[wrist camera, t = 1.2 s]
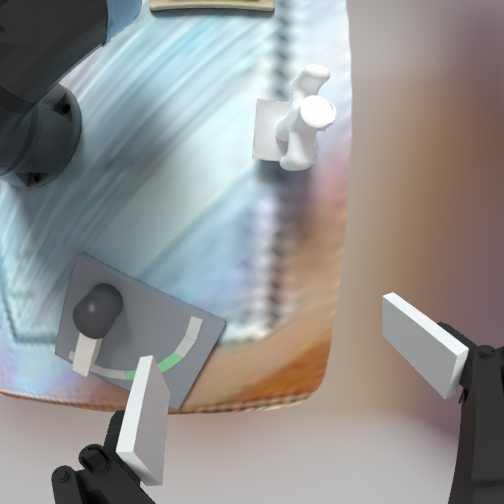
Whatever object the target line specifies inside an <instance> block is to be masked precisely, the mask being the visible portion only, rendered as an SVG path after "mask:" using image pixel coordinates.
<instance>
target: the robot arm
mask: <svg viewBox="0 0 504 504" xmlns="http://www.w3.org/2000/svg"><path fill="white" fill-rule="evenodd" d="M141 5H142V0H0V179H2V180H4V181H6V182H8V183H10V184H12V185H14V186H16V187H21V188H30V187H38V186H42V185H44V184H47V183H48V182H50V181H52V180H53V179H54V178H56V177H57V176H58V175H59V174H60V173H61V172H62V171H63V170H64V168H65V167H66V166H67V164H68V163H69V161H70V159H71V158H72V156H73V154H74V151H75V149H76V146H77V143H78V140H79V135H80V129H81V114H80V109H79V105H78V102H77V100H76V98H75V96H74V95H73V94H72V92H71V91H70V90H68V89H67V88H66V87H64V86H62V85H61V84H59V83H58V82H59V81H61V80H62V79H63V78H64V77H65V76H66V75H67V74H68V73H69V72H70V71H72V70H73V69H74V68H75V67H76V66H77V65H79V64H80V63H81V62H82V61H83V60H85V59H86V58H87V57H88V56H90V55H91V54H92V53H93V52H95V51H96V50H97V49H98V48H100V47H101V46H102V47H104V46H105V45H107V44H108V43H109V41H110V39H111V38H113V37H114V36H115V35H117V34H118V33H119V32H121V31H122V30H123V29H125V28H126V27H127V26H129V25H130V24H131V23H133V22H134V21H135V20H136V18H137V17H138V15H139V13H140V10H141ZM382 299H383V302H382V313H383V314H382V336H384V337H385V338H386V339H387V340H388V341H389V342H390V343H391V344H392V345H393V346H394V347H395V349H396V350H397V351H398V352H399V353H400V354H401V355H402V356H403V357H404V358H405V359H406V360H407V361H408V362H409V363H410V364H411V365H412V366H413V367H414V368H415V369H416V370H417V371H418V372H419V373H420V374H421V375H422V376H423V377H424V378H425V379H426V380H427V381H428V382H429V383H430V384H431V385H432V386H433V387H434V388H435V389H436V391H437V392H438V393H439V394H440V395H441V396H442V397H443V398H444V399H447V398H449V397H450V396H452V395H453V394H455V393H456V392H457V389H458V386H459V384H460V385H462V387H463V391H462V394H461V397H460V400H459V403H461V400H462V407H461V424H460V436H459V444H458V452H457V460H456V466H455V472H454V478H453V483H452V488H451V493H450V497H449V501H448V504H504V346H503V347H500V348H497V349H494V348H493V347H491V346H489V345H481V346H477V345H476V344H474V343H473V342H472V341H470V340H469V339H468V338H466V337H465V336H464V335H462V334H460V333H459V332H458V331H457V330H455V329H454V328H453V327H451V326H450V325H448V324H445V323H442V322H440V323H437V324H436V323H435V322H433V321H432V320H431V319H429V318H428V317H426V316H425V315H424V314H422V313H421V312H420V311H418V310H417V309H416V308H414V307H413V306H411V305H410V304H409V303H407V302H406V301H405V300H403V299H402V298H400V297H399V296H397V295H396V294H395V293H390V294H387V295H384V296H382ZM169 397H170V390H169V388H168V386H167V384H166V382H165V380H164V378H163V376H162V374H161V372H160V369H159V367H158V365H157V363H156V361H155V358H154V356H153V355H151V356H145V357H140V360H139V363H138V367H137V370H136V374H135V377H134V381H133V384H132V388H131V392H130V395H129V399H128V403H127V407H126V410H121V411H116V413H115V414H114V415H113V417H112V418H111V421H110V424H109V428H108V431H107V435H106V438H105V442H104V446H103V447H102V446H101V445H98V444H91V445H88V446H86V447H85V448H84V449H82V451H81V452H80V454H79V462H80V464H81V465H82V466H83V467H84V468H85V469H83V470H79V471H74V470H73V469H72V468H71V467H70V466H66V465H65V466H60V467H58V468H57V469H56V470H55V471H54V472H53V474H52V479H51V480H52V487H53V492H54V498H55V503H56V504H156V503H155V502H154V501H153V500H152V499H151V498H150V497H149V496H148V495H147V494H146V493H145V492H144V491H143V489H142V488H141V487H140V481H143V483H144V484H145V485H146V486H153V485H154V486H155V485H162V482H163V465H164V451H165V438H166V427H167V416H168V406H169Z"/></svg>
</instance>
